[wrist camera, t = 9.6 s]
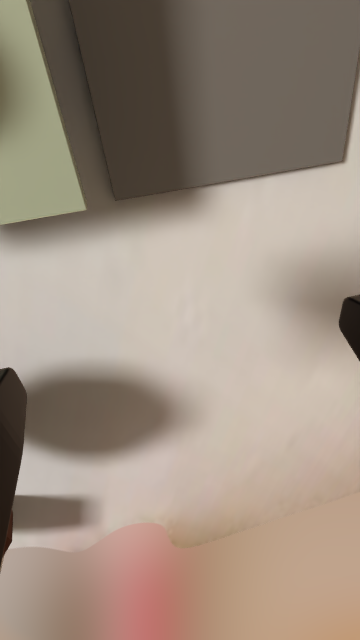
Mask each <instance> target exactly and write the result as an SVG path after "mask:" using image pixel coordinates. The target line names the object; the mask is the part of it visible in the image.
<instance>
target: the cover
mask: <svg viewBox="0 0 360 640" xmlns="http://www.w3.org/2000/svg"><path fill="white" fill-rule="evenodd" d="M86 209H87V201H86V198H85V194H84V191H83V187H82V184H81V180H80V177H79V173H78V170H77V166H76V162H75V159H74V155H73V152H72V148H71V145H70V141H69V138H68V134H67V131H66V127H65V124H64V120H63V117H62V113H61V109H60V106H59V102H58V99H57V95H56V92H55V88H54V85H53V81H52V78H51V74H50V71H49V67H48V63H47V60H46V56H45V53H44V49H43V46H42V42H41V39H40V35H39V32H38V28H37V25H36V21H35V18H34V14H33V10H32V7H31V3H30V0H0V225H3V224H9V223H15V222H20V221H26V220H32V219H38V218H43V217H49V216H55V215H60V214H66V213H72V212H78V211H83V210H86Z"/></svg>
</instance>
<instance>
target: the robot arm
mask: <svg viewBox="0 0 360 640" xmlns="http://www.w3.org/2000/svg"><path fill="white" fill-rule="evenodd" d="M339 328H340V330H341V332H342V334H343V335H344V337H345V338H346V340H347V342H348V343H349V345H350V346H351V348H352V350H353V351H354V353H355V354H356V356H357V358H358V359H359V361H360V295H356V296H351V297H347V298H345V299H344V301H343V304H342V309H341V314H340V318H339ZM26 404H27V394H26V390H25V388H24V386H23V384H22V383H21V381H20V379H19V377H18V376H17V374H16V372H15V371H14V370H13V369H12V368H9V367H8V368H3V369H0V567H1V562H2V557H3V552H4V547H5V542H6V537H7V531H8V526H9V521H10V516H11V511H12V506H13V501H14V496H15V490H16V485H17V480H18V475H19V470H20V465H21V459H22V453H23V444H24V431H25V417H26Z"/></svg>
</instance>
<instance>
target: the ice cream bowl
mask: <svg viewBox="0 0 360 640" xmlns="http://www.w3.org/2000/svg"><path fill="white" fill-rule="evenodd" d="M12 527H13V512H12V511H11V516H10V521H9V526H8V531H7V537H6V542H5V547H4V552H3V556H4V554H5V552H6V551H7V549H8V547H9V546H10V544H11V542H12ZM2 558H3V557H2Z"/></svg>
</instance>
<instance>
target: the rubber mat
mask: <svg viewBox="0 0 360 640" xmlns="http://www.w3.org/2000/svg"><path fill="white" fill-rule="evenodd" d="M69 3H70V8H71V12H72V16H73V20H74V25H75V29H76V33H77V38H78V42H79V46H80V51H81V55H82V59H83V63H84V68H85V72H86V76H87V81H88V85H89V89H90V94H91V98H92V102H93V106H94V111H95V115H96V119H97V124H98V128H99V132H100V137H101V141H102V145H103V149H104V154H105V158H106V162H107V167H108V171H109V175H110V180H111V184H112V188H113V193H114V197H115V201H117V200H123V199H129V198H134V197H140V196H146V195H152V194H157V193H163V192H169V191H174V190H180V189H186V188H192V187H197V186H203V185H209V184H215V183H220V182H226V181H232V180H237V179H243V178H249V177H255V176H260V175H266V174H272V173H278V172H283V171H289V170H295V169H300V168H306V167H312V166H318V165H323V164H329V163H335V162H341V161H342V159H343V153H344V146H345V140H346V133H347V127H348V121H349V114H350V108H351V101H352V95H353V89H354V82H355V76H356V69H357V63H358V56H359V50H360V0H69Z"/></svg>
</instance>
